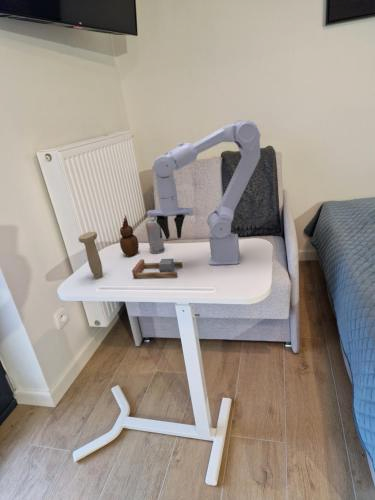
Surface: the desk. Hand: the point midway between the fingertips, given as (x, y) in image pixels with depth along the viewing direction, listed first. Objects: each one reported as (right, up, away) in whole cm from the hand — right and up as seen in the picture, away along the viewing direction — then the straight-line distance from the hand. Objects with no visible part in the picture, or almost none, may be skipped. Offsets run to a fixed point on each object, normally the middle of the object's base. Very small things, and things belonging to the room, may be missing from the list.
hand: (173, 237), depth 105 cm
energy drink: (-7, -5, +19) cm, 21 cm away
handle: (-26, -13, +5) cm, 29 cm away
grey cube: (-2, -11, +1) cm, 12 cm away
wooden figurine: (-17, -6, +20) cm, 27 cm away
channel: (-5, -11, +2) cm, 12 cm away
